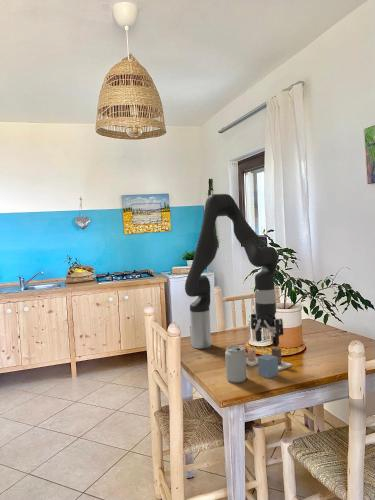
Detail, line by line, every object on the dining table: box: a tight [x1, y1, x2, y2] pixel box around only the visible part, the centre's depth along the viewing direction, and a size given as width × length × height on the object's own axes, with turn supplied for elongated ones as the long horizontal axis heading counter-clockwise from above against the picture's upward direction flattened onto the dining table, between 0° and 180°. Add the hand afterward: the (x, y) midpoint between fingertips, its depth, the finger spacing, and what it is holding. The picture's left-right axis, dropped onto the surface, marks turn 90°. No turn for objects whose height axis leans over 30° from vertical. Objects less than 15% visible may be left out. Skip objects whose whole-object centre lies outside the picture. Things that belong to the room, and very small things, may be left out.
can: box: [224, 345, 248, 384], centre depth 144 cm, size 8×8×12 cm
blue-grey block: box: [257, 353, 279, 380], centre depth 147 cm, size 5×5×7 cm
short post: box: [246, 348, 258, 367], centre depth 162 cm, size 7×7×5 cm
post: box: [271, 346, 293, 372], centre depth 156 cm, size 8×8×7 cm
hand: (267, 343), depth 147 cm, fingers open, 8 cm apart
